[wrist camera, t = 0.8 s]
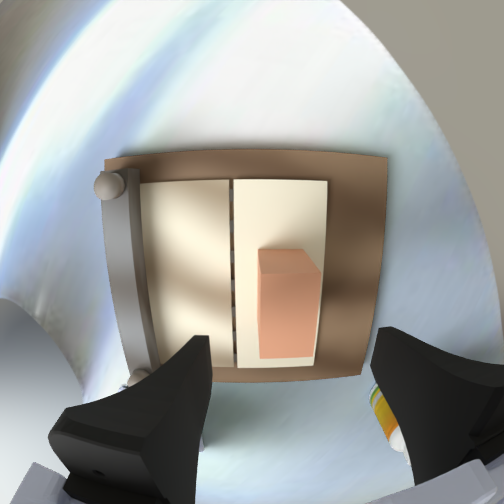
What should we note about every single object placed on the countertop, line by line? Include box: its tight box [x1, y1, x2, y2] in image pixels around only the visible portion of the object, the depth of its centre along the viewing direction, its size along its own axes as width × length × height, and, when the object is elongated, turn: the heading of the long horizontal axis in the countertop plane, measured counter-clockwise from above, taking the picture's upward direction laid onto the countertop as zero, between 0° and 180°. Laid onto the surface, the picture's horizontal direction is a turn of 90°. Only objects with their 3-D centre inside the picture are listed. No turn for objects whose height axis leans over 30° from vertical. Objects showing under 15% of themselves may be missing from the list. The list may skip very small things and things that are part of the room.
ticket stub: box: [234, 179, 327, 368], centre depth 17 cm, size 14×6×5 cm, turn 0°
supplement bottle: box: [369, 383, 411, 466], centre depth 20 cm, size 5×5×10 cm
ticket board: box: [94, 149, 387, 387], centre depth 19 cm, size 18×20×5 cm
